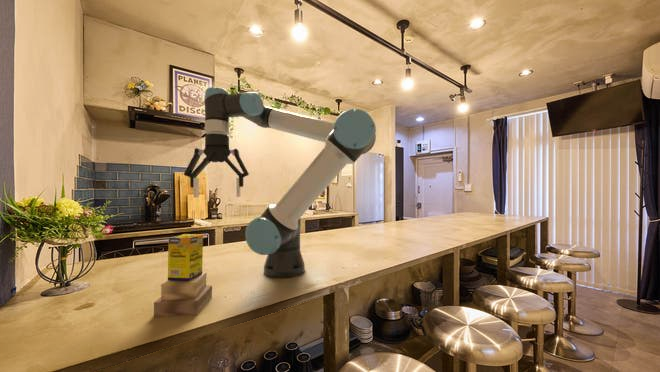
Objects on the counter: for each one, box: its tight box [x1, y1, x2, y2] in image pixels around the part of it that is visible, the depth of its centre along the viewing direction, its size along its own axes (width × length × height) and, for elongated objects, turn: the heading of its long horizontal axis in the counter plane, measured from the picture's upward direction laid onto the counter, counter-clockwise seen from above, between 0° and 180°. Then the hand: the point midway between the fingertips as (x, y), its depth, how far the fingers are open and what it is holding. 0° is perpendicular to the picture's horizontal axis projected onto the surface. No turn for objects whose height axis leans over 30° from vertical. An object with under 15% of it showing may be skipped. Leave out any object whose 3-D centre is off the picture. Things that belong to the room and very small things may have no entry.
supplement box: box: [167, 233, 204, 281], centre depth 67 cm, size 6×6×11 cm
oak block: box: [160, 271, 207, 300], centre depth 67 cm, size 8×8×4 cm
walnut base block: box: [153, 284, 213, 318], centre depth 66 cm, size 10×10×4 cm
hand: (217, 197), depth 86 cm, fingers open, 13 cm apart
